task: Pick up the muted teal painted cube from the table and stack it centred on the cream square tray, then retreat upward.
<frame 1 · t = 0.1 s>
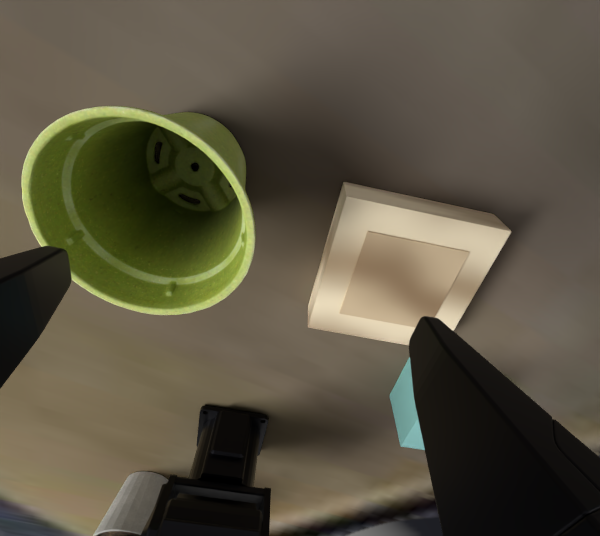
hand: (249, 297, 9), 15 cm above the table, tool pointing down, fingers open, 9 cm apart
plant pot: (197, 165, 23), on the table
cream square tray: (392, 263, 26), on the table
teal cube: (425, 380, 32), on the table
house plant: (161, 482, 43), on the table
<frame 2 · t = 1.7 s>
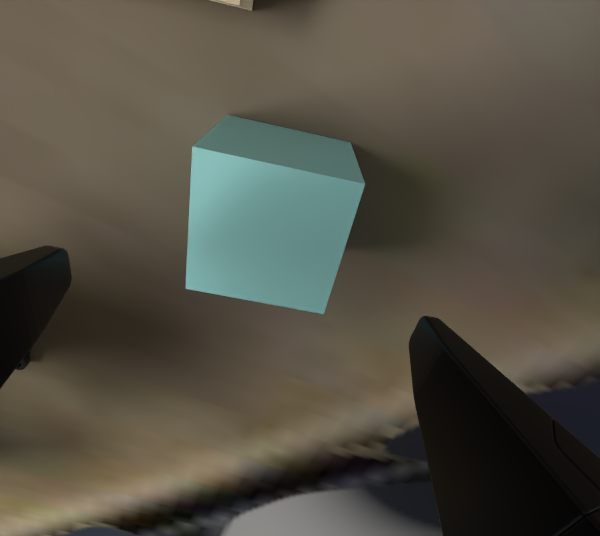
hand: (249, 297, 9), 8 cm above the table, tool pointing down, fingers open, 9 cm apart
teal cube: (279, 187, 16), on the table
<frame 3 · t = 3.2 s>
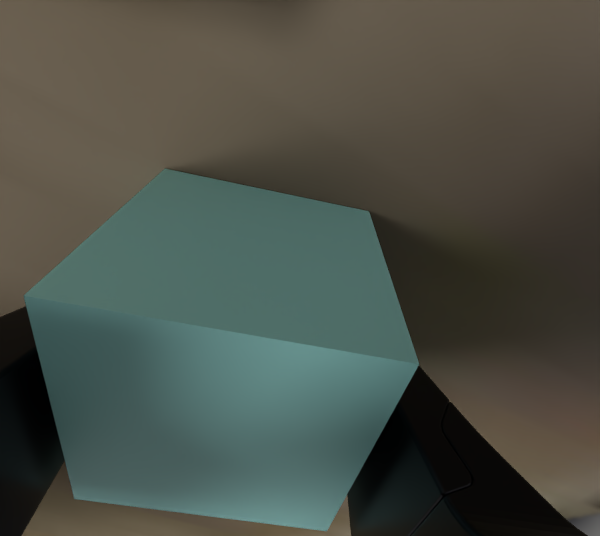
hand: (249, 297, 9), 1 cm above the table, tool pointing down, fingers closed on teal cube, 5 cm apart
teal cube: (255, 274, 10), on the table, touching gripper
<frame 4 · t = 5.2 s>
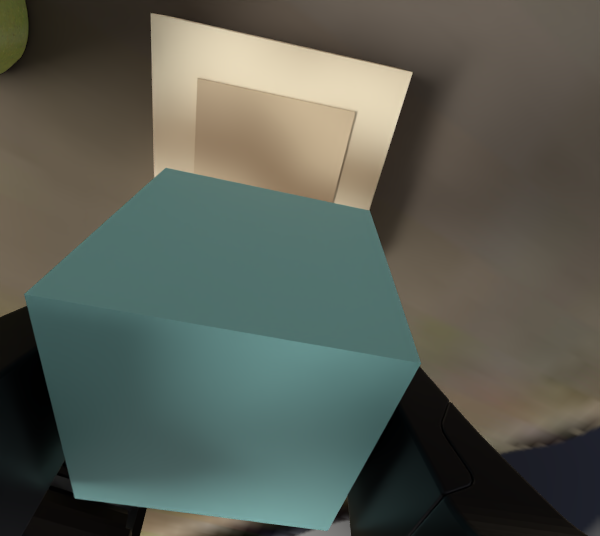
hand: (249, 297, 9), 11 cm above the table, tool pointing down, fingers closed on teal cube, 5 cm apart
cream square tray: (271, 157, 18), on the table
teal cube: (255, 273, 10), point 10 cm above the table, touching gripper
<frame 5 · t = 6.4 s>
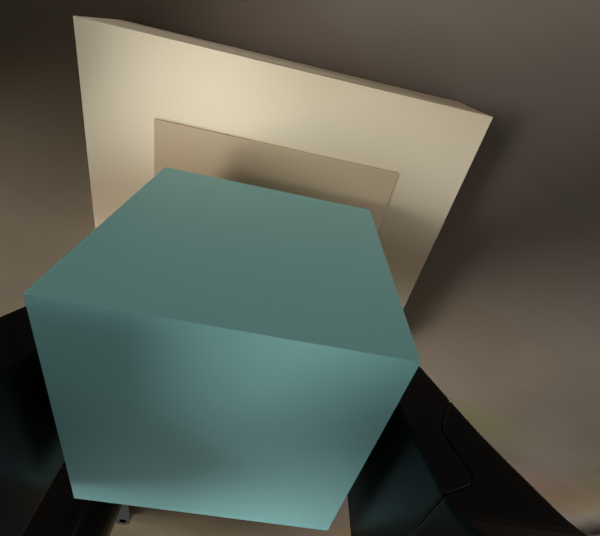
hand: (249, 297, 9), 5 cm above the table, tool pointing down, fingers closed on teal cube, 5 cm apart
cream square tray: (269, 216, 13), on the table
teal cube: (255, 273, 10), point 4 cm above the table, touching gripper
when the fingers open (4 cm above the table, at t = 7.2 s): teal cube stays where it is, resting on cream square tray.
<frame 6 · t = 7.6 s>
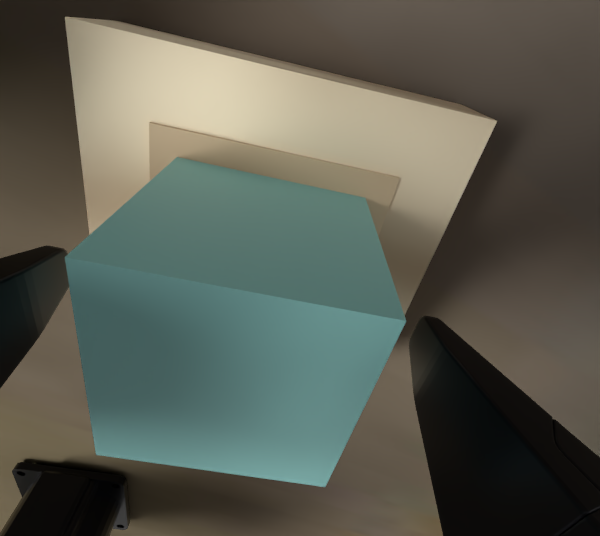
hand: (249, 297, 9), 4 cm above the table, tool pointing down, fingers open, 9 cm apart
cream square tray: (268, 220, 13), on the table
teal cube: (259, 257, 11), point 3 cm above the table, touching cream square tray
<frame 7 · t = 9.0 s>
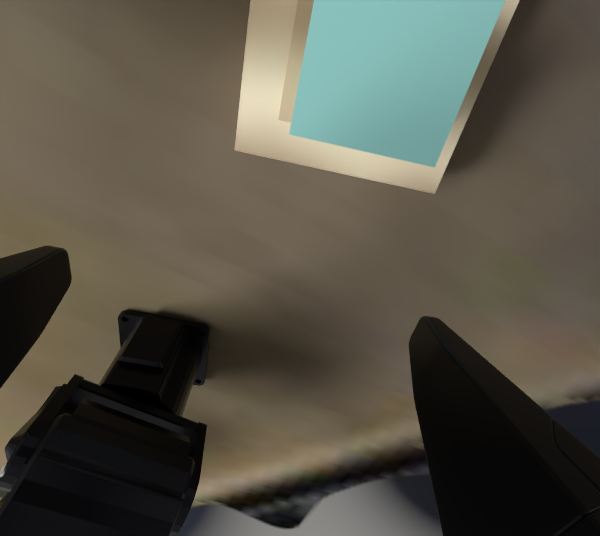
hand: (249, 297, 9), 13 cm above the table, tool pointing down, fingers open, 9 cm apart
cream square tray: (362, 52, 17), on the table
teal cube: (368, 56, 15), point 3 cm above the table, touching cream square tray
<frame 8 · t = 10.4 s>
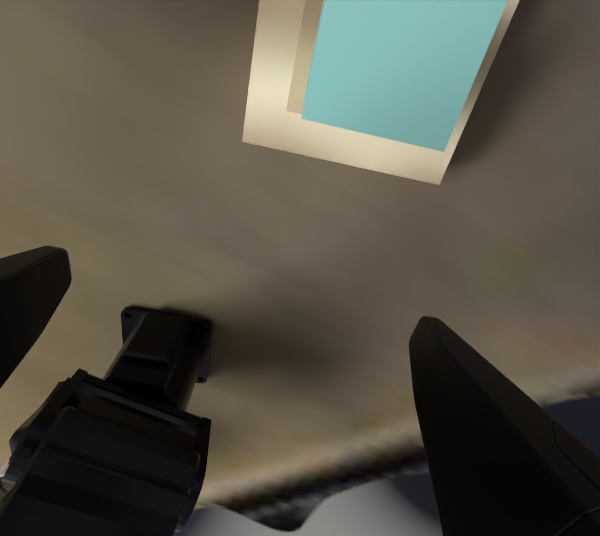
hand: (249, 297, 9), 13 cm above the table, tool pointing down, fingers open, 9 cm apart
cream square tray: (367, 46, 17), on the table
teal cube: (375, 47, 15), point 3 cm above the table, touching cream square tray
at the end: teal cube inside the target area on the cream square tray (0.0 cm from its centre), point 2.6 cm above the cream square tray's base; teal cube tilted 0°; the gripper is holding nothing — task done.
